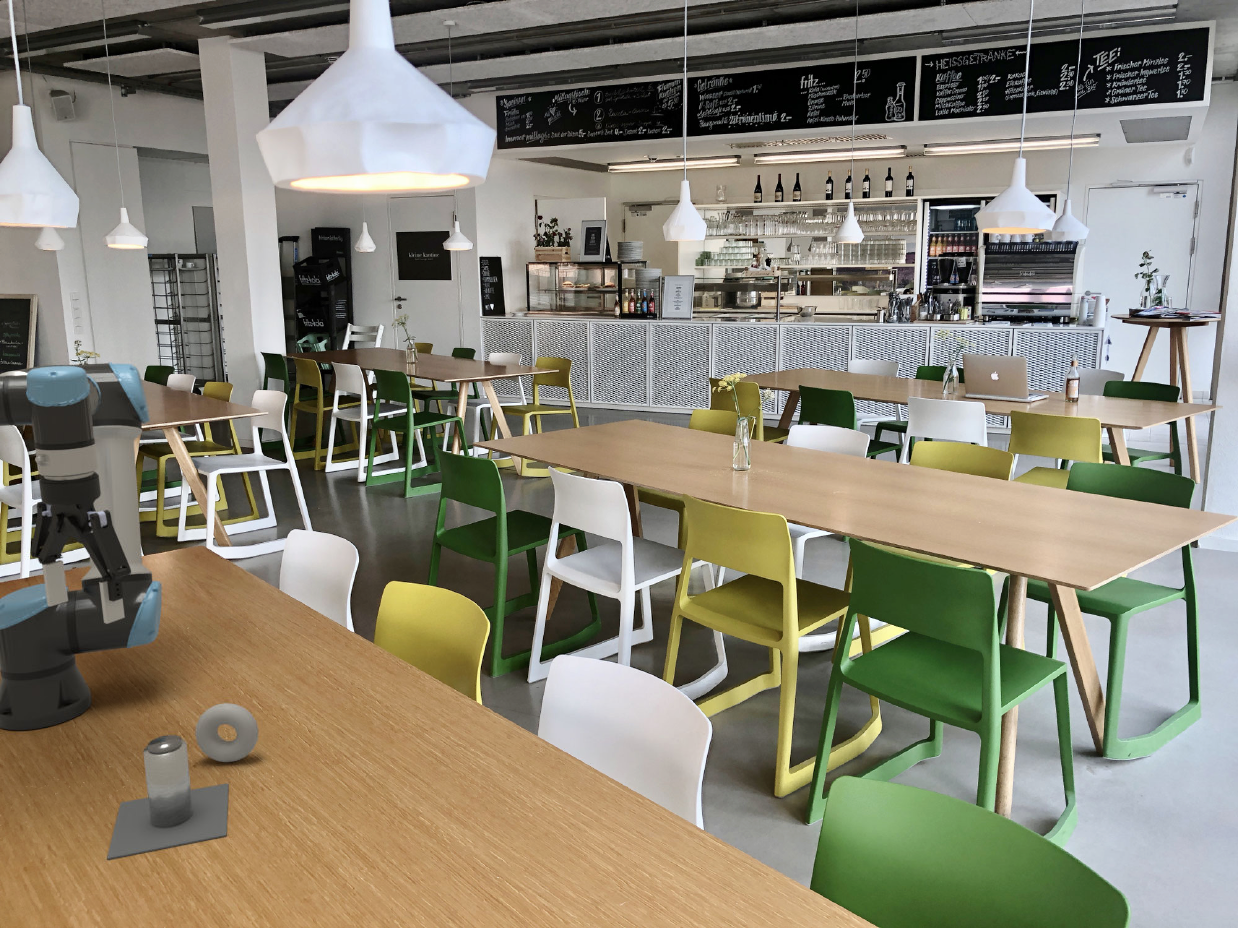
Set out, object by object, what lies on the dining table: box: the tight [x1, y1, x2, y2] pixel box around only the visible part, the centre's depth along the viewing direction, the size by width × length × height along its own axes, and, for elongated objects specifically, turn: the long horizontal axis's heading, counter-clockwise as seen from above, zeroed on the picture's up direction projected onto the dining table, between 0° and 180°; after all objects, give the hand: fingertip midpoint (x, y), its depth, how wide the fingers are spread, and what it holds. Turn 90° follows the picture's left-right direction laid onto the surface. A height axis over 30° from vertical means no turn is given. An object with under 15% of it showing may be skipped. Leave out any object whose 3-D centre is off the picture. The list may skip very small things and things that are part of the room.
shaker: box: [143, 734, 193, 828], centre depth 134 cm, size 6×6×12 cm
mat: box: [106, 782, 229, 861], centre depth 135 cm, size 15×15×1 cm
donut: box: [194, 702, 259, 763], centre depth 151 cm, size 10×4×10 cm, turn 92°
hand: (85, 611), depth 138 cm, fingers open, 13 cm apart
